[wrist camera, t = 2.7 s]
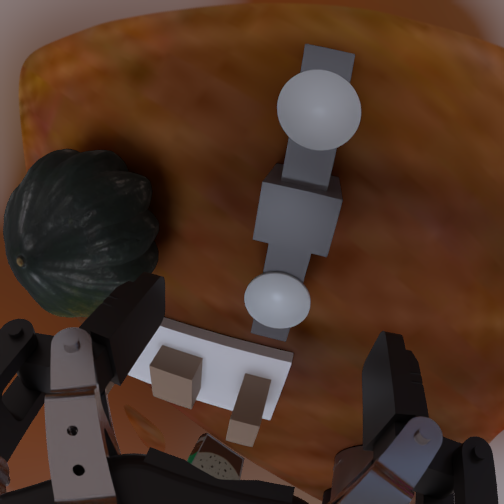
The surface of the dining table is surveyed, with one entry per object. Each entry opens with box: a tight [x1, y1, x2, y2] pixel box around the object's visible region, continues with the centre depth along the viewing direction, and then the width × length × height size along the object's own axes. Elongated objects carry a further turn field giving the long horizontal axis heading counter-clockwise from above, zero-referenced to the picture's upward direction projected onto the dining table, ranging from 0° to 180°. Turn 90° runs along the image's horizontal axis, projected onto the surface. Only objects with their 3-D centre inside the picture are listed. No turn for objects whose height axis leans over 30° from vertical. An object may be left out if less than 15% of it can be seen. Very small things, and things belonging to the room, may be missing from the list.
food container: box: [187, 433, 244, 480], centre depth 43 cm, size 12×6×10 cm, turn 40°
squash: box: [3, 149, 159, 317], centre depth 24 cm, size 14×15×15 cm
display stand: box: [106, 317, 293, 447], centre depth 34 cm, size 24×12×8 cm, turn 81°
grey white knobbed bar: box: [244, 44, 361, 342], centre depth 23 cm, size 22×5×6 cm, turn 171°
